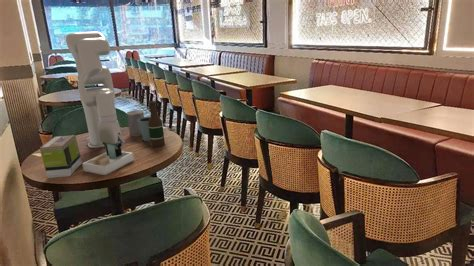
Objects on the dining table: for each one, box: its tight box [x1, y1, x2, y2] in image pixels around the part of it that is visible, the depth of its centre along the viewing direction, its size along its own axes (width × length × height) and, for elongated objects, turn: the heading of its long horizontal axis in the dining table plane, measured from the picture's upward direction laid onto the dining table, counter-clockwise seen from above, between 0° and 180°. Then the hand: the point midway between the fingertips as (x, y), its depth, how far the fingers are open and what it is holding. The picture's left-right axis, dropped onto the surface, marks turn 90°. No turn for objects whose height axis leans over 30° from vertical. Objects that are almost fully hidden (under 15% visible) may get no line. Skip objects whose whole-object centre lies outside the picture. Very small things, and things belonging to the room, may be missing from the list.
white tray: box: [81, 150, 135, 176], centre depth 153 cm, size 14×18×4 cm
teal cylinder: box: [107, 143, 120, 159], centre depth 156 cm, size 5×5×7 cm
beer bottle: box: [148, 100, 165, 148], centre depth 175 cm, size 8×8×24 cm
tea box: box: [39, 134, 83, 179], centre depth 149 cm, size 15×10×15 cm, turn 5°
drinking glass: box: [138, 116, 150, 142], centre depth 188 cm, size 10×10×12 cm
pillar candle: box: [126, 109, 145, 137], centre depth 198 cm, size 10×10×15 cm
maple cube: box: [91, 155, 110, 166], centre depth 149 cm, size 5×5×5 cm
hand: (114, 155), depth 156 cm, fingers closed on teal cylinder, 4 cm apart
